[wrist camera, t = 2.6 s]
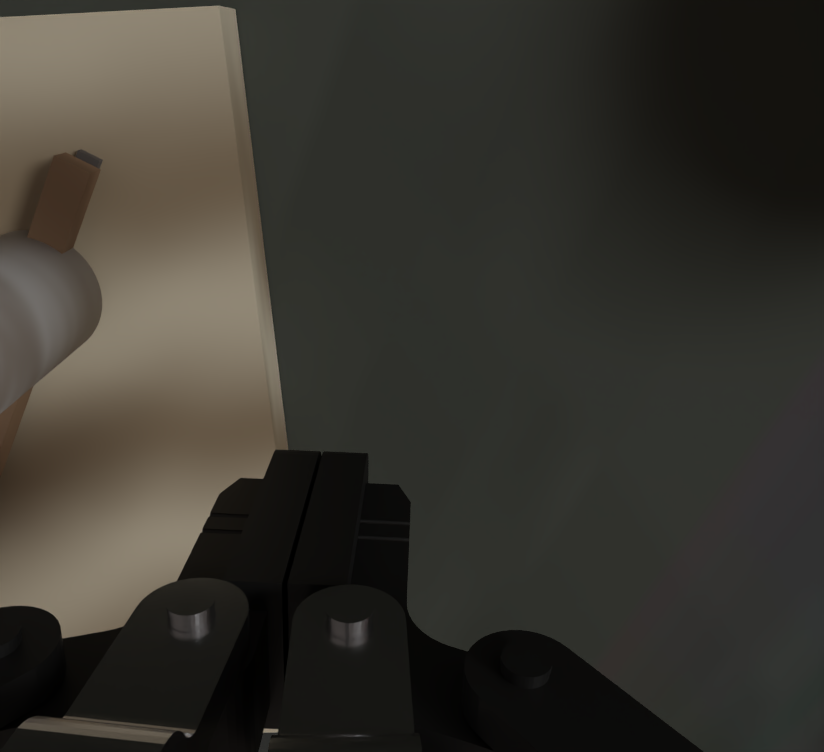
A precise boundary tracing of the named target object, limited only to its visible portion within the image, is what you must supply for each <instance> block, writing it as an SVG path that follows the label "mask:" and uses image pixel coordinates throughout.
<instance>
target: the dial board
mask: <svg viewBox="0 0 824 752" xmlns="http://www.w3.org/2000/svg"><path fill="white" fill-rule="evenodd" d="M65 152H66V153H68V154H70V155H73V156H75V157H77V158H79V159H81V160H83V161H85V162H87V163H89V164H91V165H93V166H95V167H97V168H99V169H101V171H100V174H99V177H98V179H97V182H96V185H95V188H94V191H93V193H92V196H91V199H90V202H89V205H88V208H87V210H86V213H85V216H84V219H83V222H82V225H81V227H80V230H79V233H78V236H77V239H76V241H75V244H74V247H73V248H74V249H75V250H76V251H78V252H79V253H80V254H81V255H82V256H83V258H84V259H85V260H86V261H87V262H88V264H89V265H90V267H91V268H92V270H93V272H94V273H95V275H96V278H97V280H98V283H99V286H100V289H101V295H102V312H101V317H100V321H99V323H98V326H97V328H96V330H95V331H94V333H93V334H92V335H91V337H90V338H89V339H88V340H87V341H86V342H85V343H83V344H82V345H81V346H80V347H79V348H77V349H76V350H75V351H74V352H73V353H72V354H70V355H69V356H68V357H67V358H66V359H65V360H63V361H62V362H61V363H60V364H59V365H57V366H56V367H55V368H54V369H53V370H52V371H50V372H49V373H48V374H47V375H46V376H45V377H43V378H42V379H41V380H40V381H39V382H37V383H36V384H35V385H34V386H33V389H32V392H31V394H30V397H29V400H28V403H27V406H26V408H25V411H24V414H23V417H22V419H21V422H20V425H19V428H18V431H17V433H16V436H15V439H14V442H13V445H12V447H11V450H10V453H9V456H8V458H7V461H6V464H5V467H4V470H3V472H2V475H1V478H0V607H8V606H32V607H36V608H41V609H43V610H46V611H48V612H50V613H51V614H53V615H54V616H55V617H56V618H57V620H58V621H59V624H60V626H61V633H62V638H68V637H74V636H80V635H86V634H91V633H97V632H103V631H108V630H112V629H116V628H120V627H123V626H124V625H125V623H126V622H127V620H128V619H129V617H130V616H131V614H132V613H133V611H134V610H135V608H136V607H137V605H138V604H139V603H140V602H141V601H142V600H143V599H144V598H145V597H146V596H147V595H148V594H150V593H151V592H153V591H154V590H156V589H158V588H160V587H162V586H164V585H167V584H169V583H172V582H176V581H177V580H178V578H179V576H180V574H181V572H182V569H183V567H184V565H185V563H186V561H187V559H188V557H189V555H190V553H191V551H192V549H193V547H194V545H195V543H196V541H197V539H198V537H199V535H200V533H202V528H203V526H204V524H205V522H206V520H207V518H208V517H210V512H211V510H212V508H213V506H214V504H215V502H216V500H217V498H218V496H219V494H220V493H221V492H222V491H224V490H225V489H226V488H228V487H229V486H230V485H232V484H233V483H234V482H236V481H237V480H238V479H240V478H257V479H263V478H264V476H265V473H266V471H267V468H268V466H269V463H270V461H271V458H272V456H273V453H274V451H275V450H288V443H287V435H286V427H285V418H284V410H283V402H282V394H281V385H280V377H279V369H278V360H277V352H276V344H275V335H274V327H273V319H272V310H271V302H270V294H269V285H268V277H267V269H266V260H265V252H264V244H263V235H262V227H261V219H260V210H259V202H258V194H257V185H256V177H255V169H254V160H253V152H252V144H251V135H250V127H249V119H248V110H247V102H246V94H245V85H244V77H243V69H242V60H241V52H240V44H239V35H238V27H237V19H236V10H235V9H232V8H227V7H223V6H204V7H186V8H167V9H148V10H129V11H110V12H91V13H73V14H54V15H35V16H16V17H0V236H1V235H3V234H5V233H9V232H12V231H19V230H29V229H30V226H31V223H32V220H33V217H34V214H35V211H36V208H37V205H38V202H39V199H40V196H41V193H42V190H43V187H44V184H45V181H46V178H47V175H48V172H49V169H50V166H51V162H52V159H53V156H54V155H58V154H61V153H65ZM264 732H278V729H264V731H263V733H264Z"/></svg>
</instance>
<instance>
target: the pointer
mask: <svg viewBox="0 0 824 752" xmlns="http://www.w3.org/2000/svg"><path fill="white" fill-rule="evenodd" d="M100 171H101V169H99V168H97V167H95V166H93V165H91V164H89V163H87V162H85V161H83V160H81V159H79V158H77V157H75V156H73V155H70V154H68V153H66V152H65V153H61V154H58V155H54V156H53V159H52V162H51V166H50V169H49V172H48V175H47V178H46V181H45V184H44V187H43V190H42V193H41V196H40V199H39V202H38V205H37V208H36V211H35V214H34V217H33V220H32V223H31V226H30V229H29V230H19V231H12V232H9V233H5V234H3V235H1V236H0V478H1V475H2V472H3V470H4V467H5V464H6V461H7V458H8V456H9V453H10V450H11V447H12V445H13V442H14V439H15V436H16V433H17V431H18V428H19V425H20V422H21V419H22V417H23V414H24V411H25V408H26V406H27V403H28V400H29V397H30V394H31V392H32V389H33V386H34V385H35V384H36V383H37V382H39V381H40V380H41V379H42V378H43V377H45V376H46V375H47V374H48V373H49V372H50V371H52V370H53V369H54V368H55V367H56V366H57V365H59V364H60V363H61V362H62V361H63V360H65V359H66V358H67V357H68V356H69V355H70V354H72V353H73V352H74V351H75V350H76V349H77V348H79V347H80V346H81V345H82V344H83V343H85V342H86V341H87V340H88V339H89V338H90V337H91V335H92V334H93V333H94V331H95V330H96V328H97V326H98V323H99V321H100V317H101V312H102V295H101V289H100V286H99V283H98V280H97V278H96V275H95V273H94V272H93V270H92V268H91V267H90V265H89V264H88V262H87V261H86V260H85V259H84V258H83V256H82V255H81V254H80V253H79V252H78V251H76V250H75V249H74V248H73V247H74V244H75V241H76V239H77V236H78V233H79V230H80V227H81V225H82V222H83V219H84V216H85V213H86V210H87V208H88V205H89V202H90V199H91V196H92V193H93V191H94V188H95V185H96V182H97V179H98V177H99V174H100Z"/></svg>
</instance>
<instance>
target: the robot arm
mask: <svg viewBox="0 0 824 752" xmlns="http://www.w3.org/2000/svg"><path fill="white" fill-rule="evenodd" d="M410 504H411V502H410V501H409V499H408V498H407V496H406V495H405V494H404V492H403V491H402V489H401V488H400V487H399V485H391V484H369V483H368V453H346V452H323V454H322V456H321V452H320V451H299V450H275V451H274V453H273V456H272V458H271V461H270V463H269V466H268V468H267V471H266V473H265V476H264V478H263V479H257V478H240V479H238V480H237V481H236V482H234V483H233V484H232V485H230V486H229V487H228V488H226V489H225V490H224V491H222V492H221V493H220V494H219V496H218V498H217V500H216V502H215V504H214V506H213V508H212V510H211V512H210V517H208V518H207V520H206V522H205V524H204V526H203V528H202V533H200V535H199V537H198V539H197V541H196V543H195V545H194V547H193V549H192V551H191V553H190V555H189V557H188V559H187V561H186V563H185V565H184V567H183V569H182V572H181V574H180V576H179V578H178V580H177V581H176V582H172V583H169V584H167V585H164V586H162V587H160V588H158V589H156V590H154V591H153V592H151V593H150V594H148V595H147V596H146V597H145V598H144V599H143V600H142V601H141V602H140V603H139V604H138V605H137V607H136V608H135V610H134V611H133V613H132V614H131V616H130V617H129V619H128V620H127V622H126V623H125V625H124V626H123V627H120V628H116V629H112V630H108V631H103V632H97V633H91V634H86V635H80V636H74V637H68V638H62V633H61V626H60V624H59V621H58V620H57V618H56V617H55V616H54V615H53V614H51V613H50V612H48V611H46V610H43V609H41V608H36V607H32V606H8V607H0V752H258V751H259V747H260V743H261V739H262V735H263V731H264V729H278V735H272V736H271V739H270V743H269V748H268V752H703V751H702V750H700V749H699V748H698V747H697V746H695V745H694V744H693V743H691V742H690V741H689V740H687V739H686V738H685V737H683V736H682V735H681V734H680V733H678V732H677V731H676V730H674V729H673V728H672V727H670V726H669V725H668V724H666V723H665V722H664V721H663V720H661V719H660V718H659V717H657V716H656V715H655V714H653V713H652V712H651V711H649V710H648V709H647V708H646V707H644V706H643V705H642V704H640V703H639V702H638V701H636V700H635V699H634V698H633V697H631V696H630V695H629V694H627V693H626V692H625V691H623V690H622V689H621V688H619V687H618V686H617V685H616V684H614V683H613V682H612V681H610V680H609V679H608V678H606V677H605V676H604V675H602V674H601V673H600V672H599V671H597V670H596V669H595V668H593V667H592V666H591V665H589V664H588V663H587V662H585V661H584V660H583V659H582V658H580V657H579V656H578V655H576V654H575V653H574V652H572V651H571V650H570V649H568V648H567V647H566V646H564V645H563V644H561V643H560V642H558V641H556V640H554V639H552V638H550V637H547V636H545V635H542V634H538V633H534V632H530V631H522V630H508V631H500V632H496V633H492V634H490V635H487V636H485V637H483V638H482V639H480V640H478V641H477V642H476V643H475V644H474V645H473V646H472V647H471V648H470V650H469V651H468V652H467V651H464V650H460V649H457V648H454V647H451V646H448V645H445V644H442V643H440V642H438V641H436V640H434V639H432V638H431V637H429V636H427V635H426V634H425V633H423V632H422V631H421V630H420V629H419V628H418V627H417V626H416V625H415V624H414V622H413V621H412V619H411V617H410V616H409V613H408V610H407V579H408V554H409V529H410Z"/></svg>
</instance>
